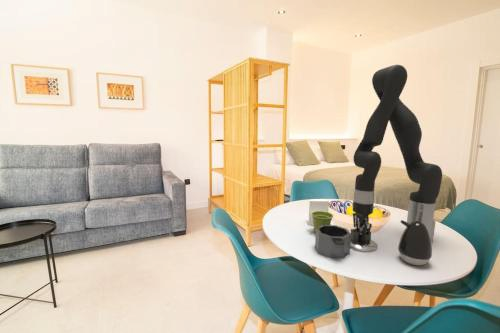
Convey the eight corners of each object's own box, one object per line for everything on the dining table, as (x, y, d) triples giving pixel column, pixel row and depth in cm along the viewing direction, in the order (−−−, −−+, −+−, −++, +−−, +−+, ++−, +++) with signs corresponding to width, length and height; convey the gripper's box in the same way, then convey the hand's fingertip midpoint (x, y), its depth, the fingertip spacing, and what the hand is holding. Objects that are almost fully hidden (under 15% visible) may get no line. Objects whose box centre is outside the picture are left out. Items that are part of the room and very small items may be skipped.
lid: (369, 238, 114) (370, 225, 113) (383, 252, 101) (384, 237, 100) (338, 237, 114) (339, 224, 113) (349, 251, 101) (350, 237, 100)
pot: (340, 241, 110) (341, 223, 109) (355, 262, 93) (357, 241, 92) (311, 240, 110) (312, 222, 109) (321, 261, 94) (323, 240, 92)
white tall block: (324, 220, 134) (326, 197, 132) (329, 227, 125) (331, 203, 123) (306, 220, 134) (308, 197, 132) (310, 227, 125) (311, 202, 123)
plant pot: (333, 238, 113) (334, 218, 112) (310, 236, 115) (311, 217, 114) (331, 229, 122) (332, 211, 121) (310, 227, 124) (311, 210, 123)
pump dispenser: (399, 251, 102) (403, 214, 99) (431, 261, 95) (437, 220, 93) (393, 262, 94) (398, 221, 91) (428, 272, 87) (434, 229, 85)
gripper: (381, 206, 98) (376, 249, 100) (365, 196, 111) (362, 234, 114) (360, 205, 98) (357, 249, 100) (347, 195, 112) (344, 234, 114)
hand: (359, 241), depth 107 cm, fingers closed on lid, 3 cm apart
